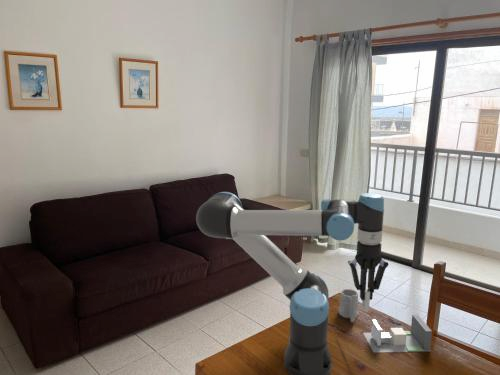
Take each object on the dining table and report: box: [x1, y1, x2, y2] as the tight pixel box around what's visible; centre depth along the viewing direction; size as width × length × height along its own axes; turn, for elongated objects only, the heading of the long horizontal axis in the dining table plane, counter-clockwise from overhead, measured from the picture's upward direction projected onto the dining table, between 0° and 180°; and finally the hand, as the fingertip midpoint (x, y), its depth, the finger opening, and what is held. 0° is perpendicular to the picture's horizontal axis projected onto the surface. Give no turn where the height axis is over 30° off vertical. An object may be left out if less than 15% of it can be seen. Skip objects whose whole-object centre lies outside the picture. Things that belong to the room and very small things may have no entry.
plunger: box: [370, 319, 391, 346], centre depth 131 cm, size 5×6×6 cm
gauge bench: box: [362, 314, 433, 353], centre depth 131 cm, size 19×11×8 cm, turn 92°
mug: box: [337, 288, 360, 323], centre depth 147 cm, size 8×12×12 cm, turn 179°
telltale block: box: [389, 327, 407, 345], centre depth 131 cm, size 4×4×4 cm
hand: (365, 307), depth 129 cm, fingers closed
